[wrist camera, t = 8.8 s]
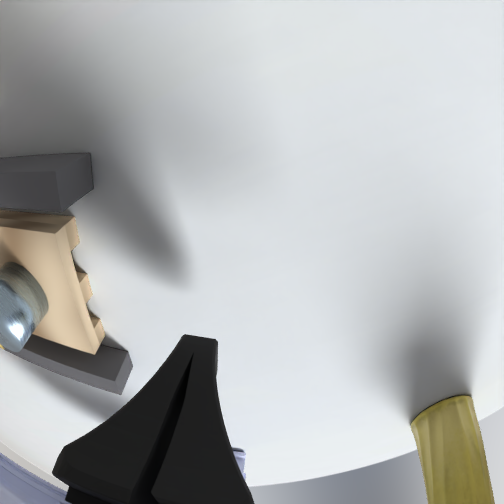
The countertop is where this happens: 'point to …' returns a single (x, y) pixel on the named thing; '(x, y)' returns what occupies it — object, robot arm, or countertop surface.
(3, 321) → the steel cylinder puck
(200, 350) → the robot arm
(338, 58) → the countertop surface
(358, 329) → the countertop surface
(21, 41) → the countertop surface
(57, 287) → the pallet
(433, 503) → the vase
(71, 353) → the frame
